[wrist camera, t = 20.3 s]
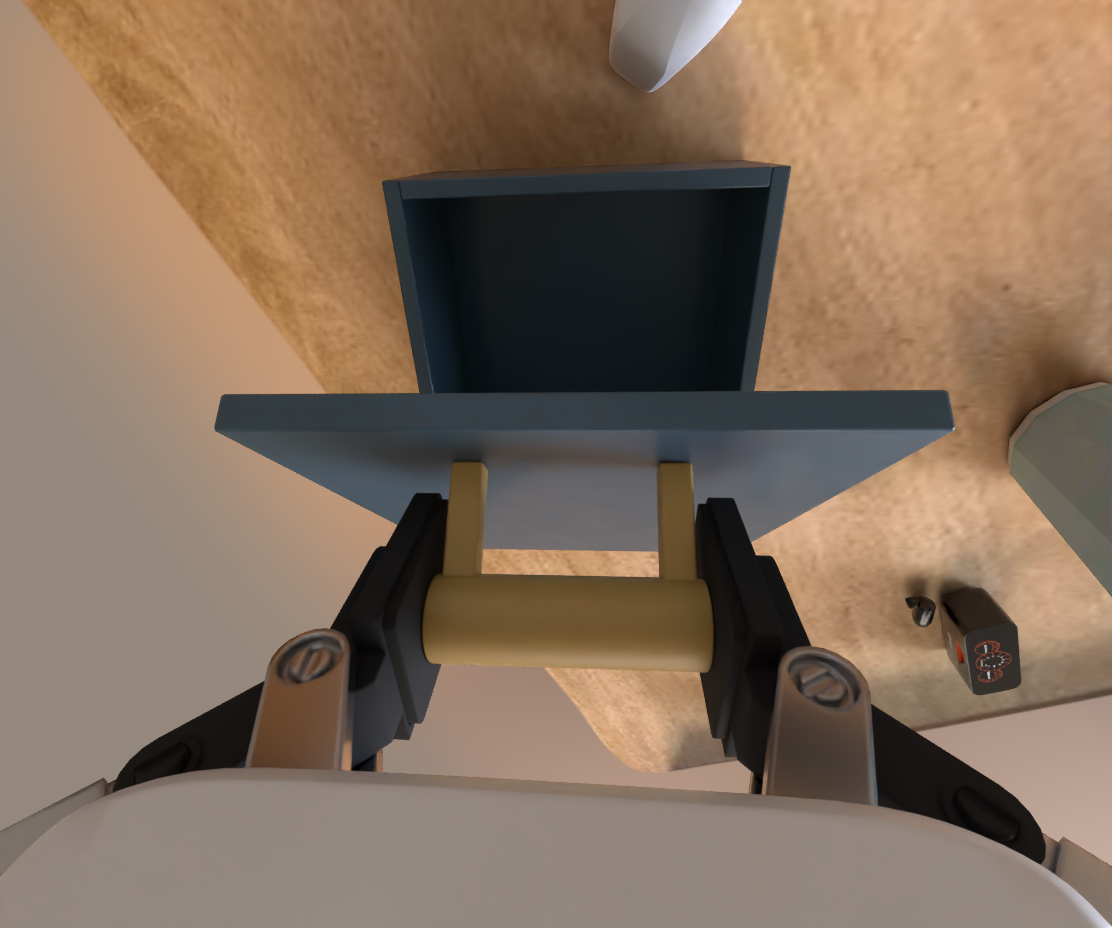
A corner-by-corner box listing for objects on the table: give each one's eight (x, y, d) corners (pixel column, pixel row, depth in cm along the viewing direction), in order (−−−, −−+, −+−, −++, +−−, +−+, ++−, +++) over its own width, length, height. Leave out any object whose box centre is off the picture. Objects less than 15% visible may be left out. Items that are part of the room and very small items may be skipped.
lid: (219, 392, 11) (158, 664, 9) (950, 388, 9) (1012, 693, 8) (442, 531, 26) (433, 640, 24) (731, 535, 25) (739, 650, 23)
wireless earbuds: (981, 571, 33) (1016, 611, 30) (989, 645, 36) (1022, 687, 34) (900, 592, 34) (926, 631, 32) (915, 661, 38) (940, 703, 35)
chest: (432, 172, 24) (380, 180, 18) (744, 160, 23) (792, 165, 17) (471, 464, 32) (444, 533, 26) (706, 465, 31) (730, 538, 25)
